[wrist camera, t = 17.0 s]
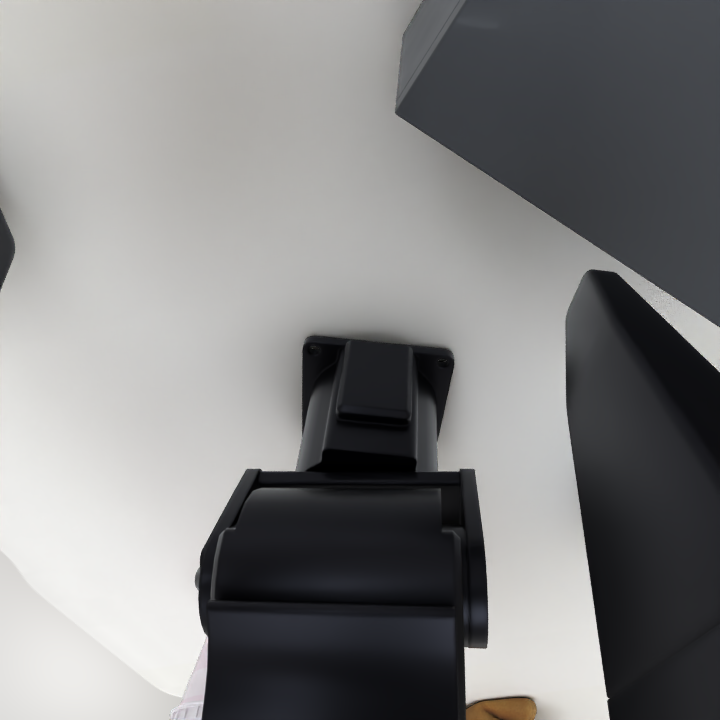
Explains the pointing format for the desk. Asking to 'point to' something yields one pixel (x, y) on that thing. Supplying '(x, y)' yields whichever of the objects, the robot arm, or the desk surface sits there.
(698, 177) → the organizer
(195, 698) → the smoothie
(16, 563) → the desk surface
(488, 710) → the stuffed squirrel
